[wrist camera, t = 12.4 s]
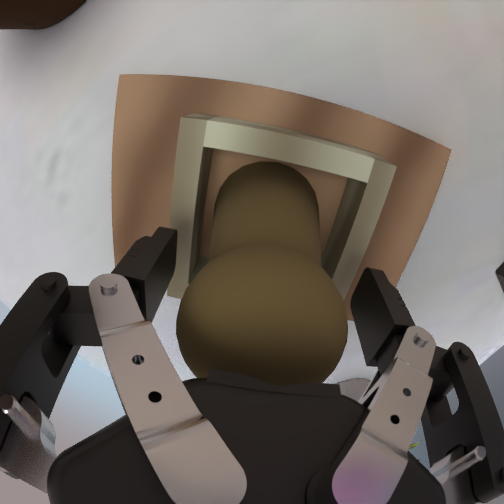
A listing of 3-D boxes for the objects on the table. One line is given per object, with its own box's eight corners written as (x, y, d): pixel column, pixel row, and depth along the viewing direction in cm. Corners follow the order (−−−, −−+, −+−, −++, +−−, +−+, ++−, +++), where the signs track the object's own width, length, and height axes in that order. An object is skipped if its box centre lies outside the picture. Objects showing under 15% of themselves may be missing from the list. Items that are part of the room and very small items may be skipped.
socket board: (443, 146, 14) (479, 162, 11) (371, 314, 22) (384, 351, 18) (127, 75, 14) (91, 73, 10) (121, 268, 21) (98, 301, 17)
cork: (193, 209, 17) (113, 357, 7) (269, 138, 14) (268, 226, 5) (263, 273, 19) (255, 435, 9) (338, 216, 16) (406, 370, 7)
